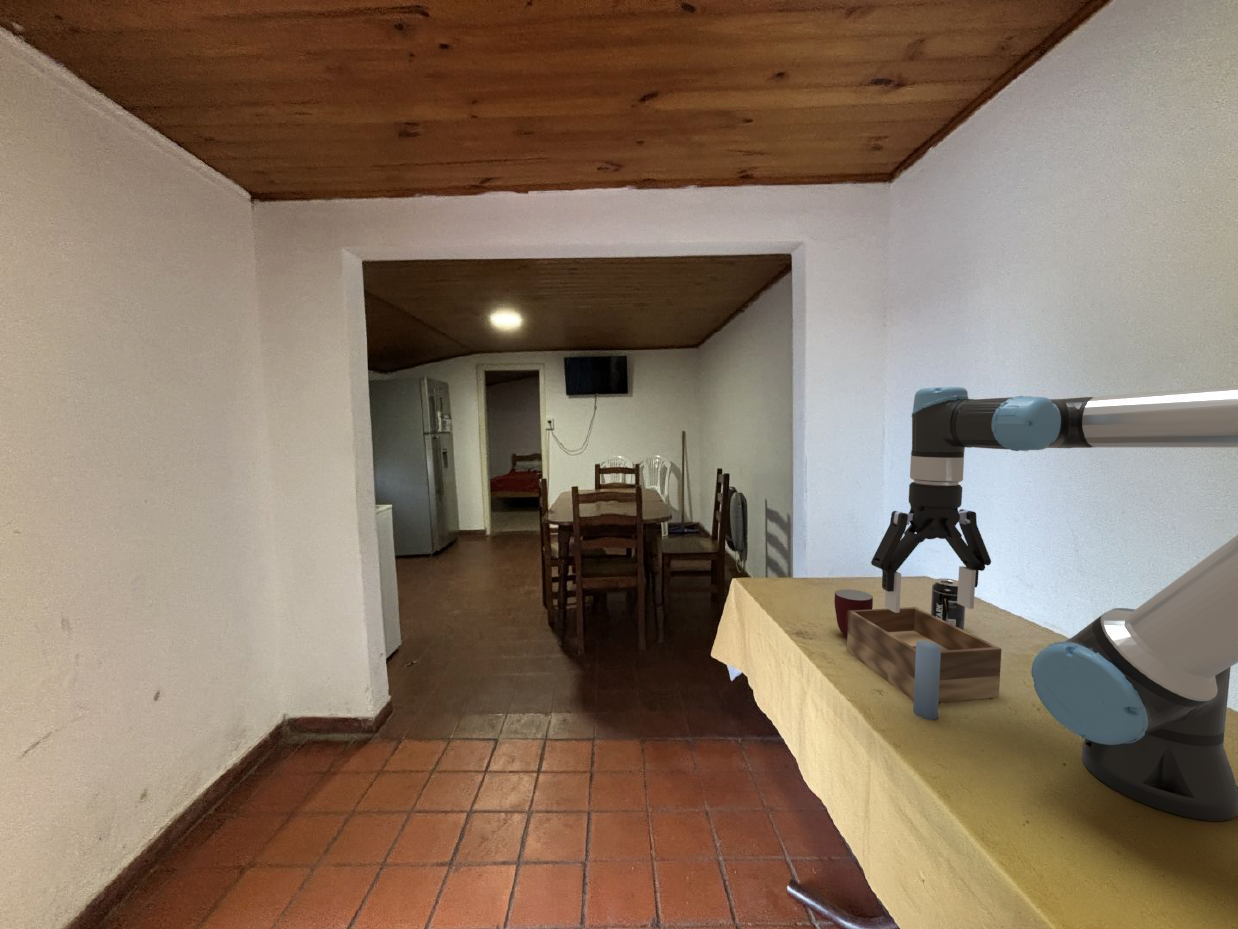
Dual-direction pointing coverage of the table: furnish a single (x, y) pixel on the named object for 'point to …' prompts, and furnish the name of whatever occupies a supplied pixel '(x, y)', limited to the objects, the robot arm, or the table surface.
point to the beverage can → (947, 602)
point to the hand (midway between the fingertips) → (928, 608)
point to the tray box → (892, 652)
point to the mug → (850, 606)
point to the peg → (927, 679)
